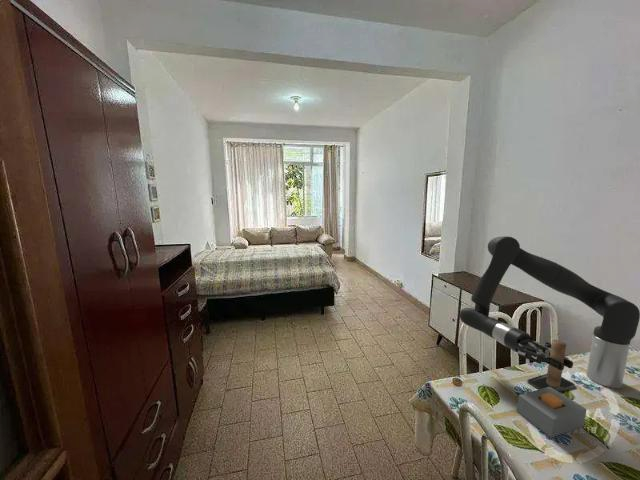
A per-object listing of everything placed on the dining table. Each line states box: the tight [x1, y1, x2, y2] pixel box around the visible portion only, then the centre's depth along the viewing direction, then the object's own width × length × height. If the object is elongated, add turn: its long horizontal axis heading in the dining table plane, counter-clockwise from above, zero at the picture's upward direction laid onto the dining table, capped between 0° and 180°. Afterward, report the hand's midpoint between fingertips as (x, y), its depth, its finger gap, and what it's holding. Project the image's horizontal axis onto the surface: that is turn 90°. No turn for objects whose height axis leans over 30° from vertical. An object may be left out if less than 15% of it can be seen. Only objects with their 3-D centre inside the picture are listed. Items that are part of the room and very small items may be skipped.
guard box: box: [516, 387, 587, 439], centre depth 82 cm, size 14×10×6 cm
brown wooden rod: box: [546, 339, 567, 388], centre depth 80 cm, size 3×3×14 cm
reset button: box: [541, 392, 563, 409], centre depth 82 cm, size 4×4×4 cm
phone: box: [526, 373, 576, 393], centre depth 98 cm, size 8×1×15 cm
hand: (567, 366), depth 77 cm, fingers closed on brown wooden rod, 3 cm apart
